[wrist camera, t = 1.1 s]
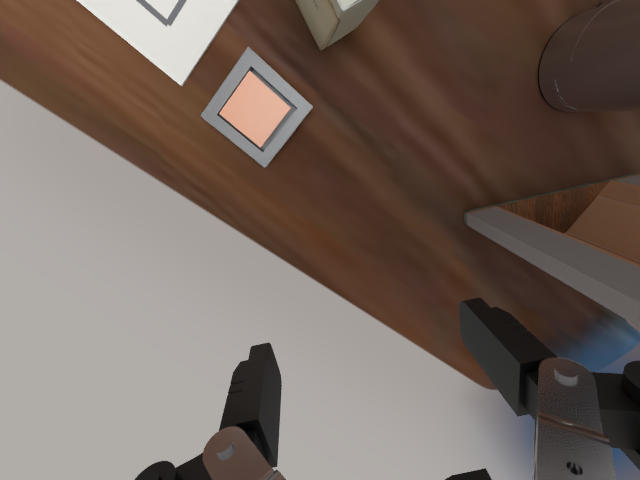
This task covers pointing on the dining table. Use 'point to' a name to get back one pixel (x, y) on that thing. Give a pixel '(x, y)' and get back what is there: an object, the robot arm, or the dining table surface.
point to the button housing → (277, 86)
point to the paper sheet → (166, 29)
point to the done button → (255, 109)
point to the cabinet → (576, 238)
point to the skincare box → (333, 17)
